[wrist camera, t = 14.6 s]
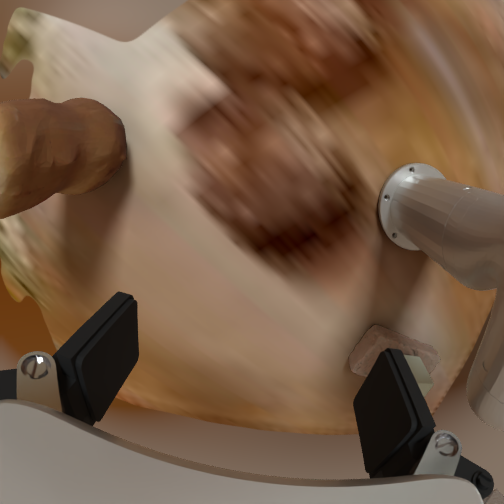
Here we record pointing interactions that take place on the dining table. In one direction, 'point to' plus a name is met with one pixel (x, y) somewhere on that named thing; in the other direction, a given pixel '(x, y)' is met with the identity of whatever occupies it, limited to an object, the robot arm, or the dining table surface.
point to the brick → (385, 338)
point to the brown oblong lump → (56, 150)
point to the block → (420, 373)
